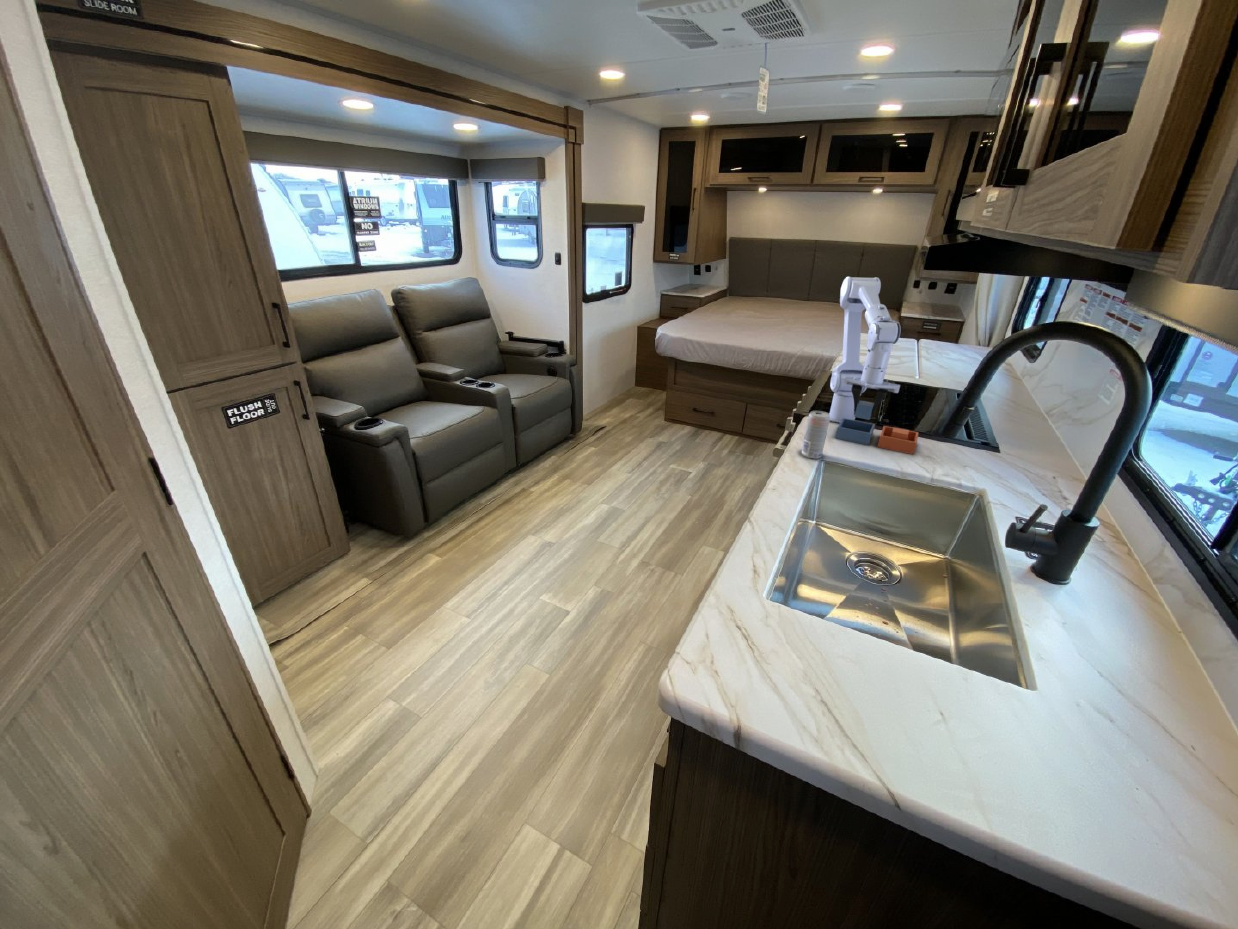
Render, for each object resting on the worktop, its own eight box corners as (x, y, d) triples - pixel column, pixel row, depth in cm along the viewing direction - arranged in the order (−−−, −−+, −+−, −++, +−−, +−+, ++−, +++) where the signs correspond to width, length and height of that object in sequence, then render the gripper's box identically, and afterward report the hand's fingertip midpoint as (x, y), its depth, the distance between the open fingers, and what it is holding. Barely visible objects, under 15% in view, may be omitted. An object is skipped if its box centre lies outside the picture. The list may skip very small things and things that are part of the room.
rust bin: (880, 436, 149) (883, 425, 147) (915, 443, 144) (918, 432, 143) (877, 446, 142) (880, 435, 140) (913, 454, 137) (916, 442, 136)
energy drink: (818, 451, 138) (827, 410, 133) (823, 459, 133) (833, 418, 128) (799, 450, 138) (807, 409, 133) (803, 458, 134) (812, 416, 128)
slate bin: (840, 428, 154) (842, 417, 152) (872, 434, 150) (875, 424, 148) (835, 438, 147) (837, 427, 145) (868, 445, 143) (871, 433, 141)
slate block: (856, 413, 146) (859, 400, 145) (871, 415, 145) (874, 402, 143) (854, 417, 143) (857, 404, 142) (869, 419, 142) (872, 406, 140)
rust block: (890, 439, 145) (893, 427, 143) (905, 442, 143) (909, 430, 142) (888, 444, 142) (892, 431, 140) (904, 447, 140) (908, 434, 138)
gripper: (845, 365, 138) (835, 411, 144) (903, 373, 131) (889, 421, 137) (849, 359, 143) (839, 404, 149) (905, 367, 136) (892, 413, 142)
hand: (863, 411), depth 143 cm, fingers closed on slate block, 4 cm apart
